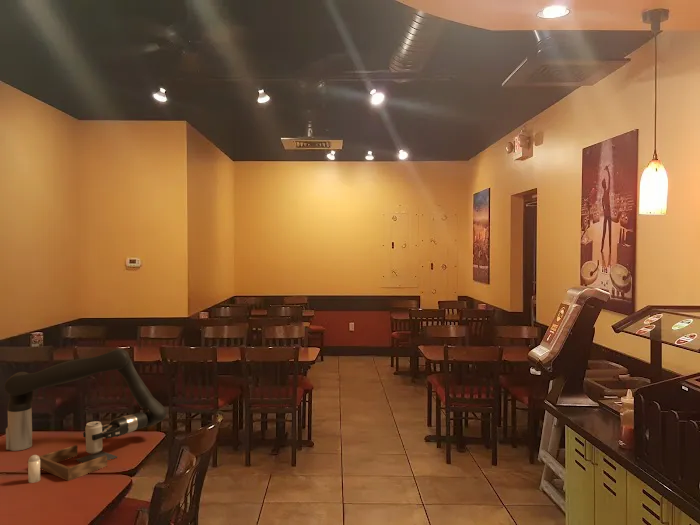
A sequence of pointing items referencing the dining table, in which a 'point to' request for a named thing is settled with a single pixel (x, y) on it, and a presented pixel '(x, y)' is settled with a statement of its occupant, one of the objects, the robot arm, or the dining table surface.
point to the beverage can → (90, 430)
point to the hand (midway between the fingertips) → (88, 436)
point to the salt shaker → (34, 469)
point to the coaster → (96, 456)
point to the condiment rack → (69, 473)
